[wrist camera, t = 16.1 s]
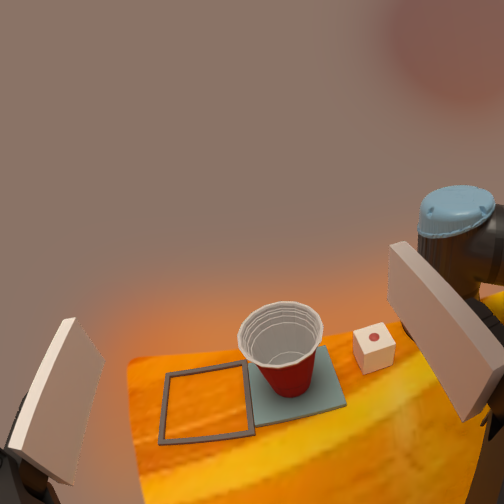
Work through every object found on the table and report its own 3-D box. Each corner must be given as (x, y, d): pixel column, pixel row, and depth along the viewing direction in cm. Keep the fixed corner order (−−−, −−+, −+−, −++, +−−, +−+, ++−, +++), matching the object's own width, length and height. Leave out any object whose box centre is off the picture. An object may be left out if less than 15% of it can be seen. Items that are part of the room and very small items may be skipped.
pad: (325, 348, 49) (325, 345, 48) (346, 406, 38) (346, 403, 38) (248, 366, 49) (247, 363, 49) (256, 427, 38) (254, 425, 38)
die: (380, 343, 46) (382, 321, 44) (392, 364, 42) (395, 343, 39) (352, 352, 46) (353, 330, 44) (362, 374, 42) (364, 353, 39)
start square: (247, 361, 50) (246, 359, 50) (255, 435, 37) (254, 433, 37) (166, 374, 50) (165, 373, 50) (159, 445, 38) (157, 444, 37)
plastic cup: (252, 416, 39) (230, 366, 34) (258, 360, 49) (241, 305, 43) (330, 410, 37) (326, 358, 32) (325, 353, 47) (319, 296, 41)
